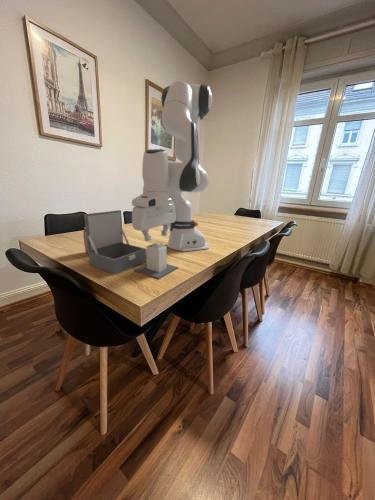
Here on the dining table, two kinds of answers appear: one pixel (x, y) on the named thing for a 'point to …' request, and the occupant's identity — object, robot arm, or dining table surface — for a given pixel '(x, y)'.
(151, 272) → the mat
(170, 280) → the dining table surface
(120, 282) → the dining table surface
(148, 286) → the dining table surface
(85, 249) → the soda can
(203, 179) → the robot arm
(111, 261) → the case
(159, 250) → the block
